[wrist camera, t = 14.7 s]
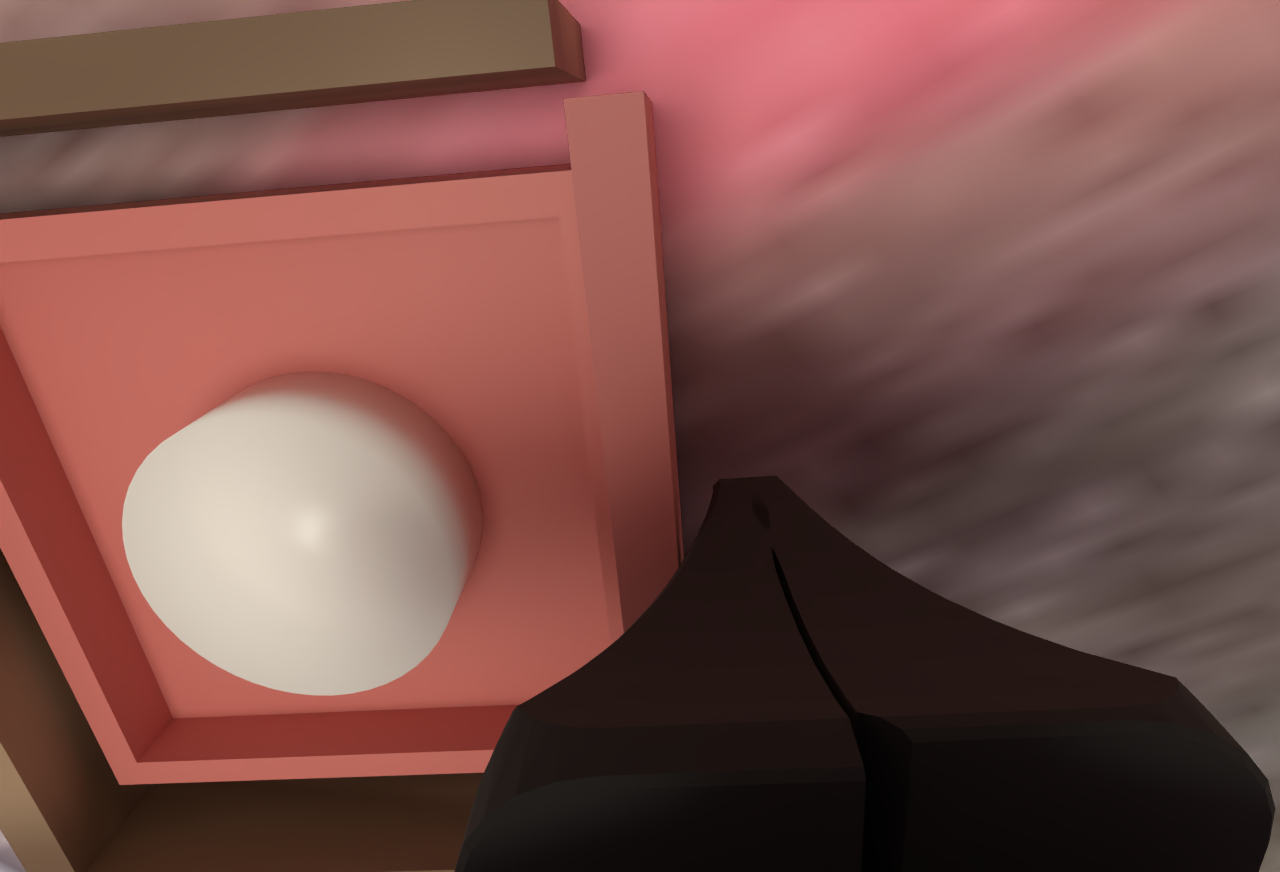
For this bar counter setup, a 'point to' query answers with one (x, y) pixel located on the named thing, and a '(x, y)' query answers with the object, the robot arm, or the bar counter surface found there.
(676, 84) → the bar counter surface
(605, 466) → the drawer
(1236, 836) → the robot arm
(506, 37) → the cabinet
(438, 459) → the white dome
